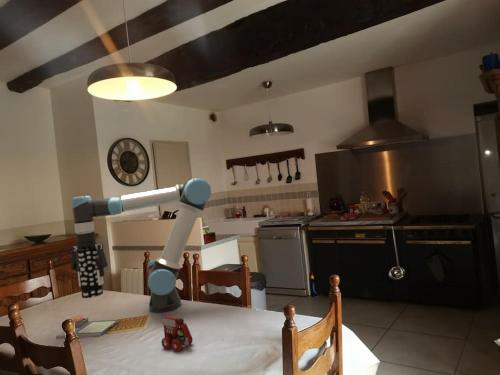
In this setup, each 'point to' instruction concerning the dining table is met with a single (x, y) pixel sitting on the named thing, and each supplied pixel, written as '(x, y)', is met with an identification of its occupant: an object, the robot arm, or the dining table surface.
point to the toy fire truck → (175, 334)
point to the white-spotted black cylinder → (88, 273)
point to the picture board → (90, 328)
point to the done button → (78, 319)
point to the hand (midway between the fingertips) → (91, 285)
